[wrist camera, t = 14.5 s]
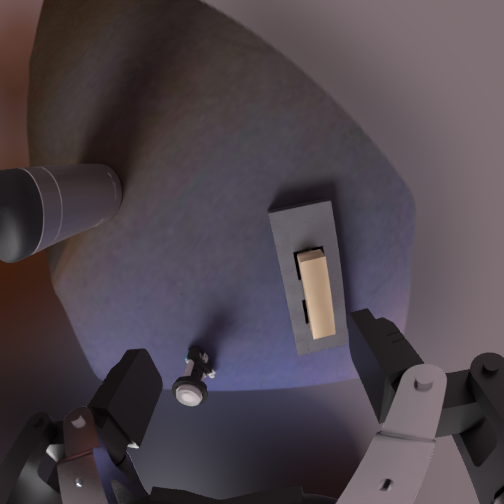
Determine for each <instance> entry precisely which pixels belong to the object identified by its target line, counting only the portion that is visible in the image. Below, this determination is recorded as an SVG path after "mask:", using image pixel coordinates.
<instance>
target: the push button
mask: <svg viewBox="0 0 504 504" xmlns="http://www.w3.org/2000/svg"><path fill="white" fill-rule="evenodd" d="M205 356H206V357H207V358H206V357H205ZM185 361H186V362H187V366H186V369H185V372H184V375H183V377H179V378H178V379H177V380H176V382H175V383H174V384H173V386H172V393H173V395H174V396H175V397H176V398H177V399H178V400H179V402H181V403H183V404H185V405H188V406H195V405H199V404H202V403H204V402H205V401H206V400H207V397H208V393H207V386H206V385H205V383H204V378H205V377H206V375H209V376H210V377H211V378H214V377H215V376H214V375H213V374H215V372H214V371H213V370H212V369H213V367H212V364H211V363H210V362H209V361H208V356H207V355H206V354H205V353H204V355H203V354H202V353H201V352H200V348H199V347H198V346H195V347H193V348H192V349H190V350H188V351H187V353H186V356H185ZM212 372H214V373H212ZM211 375H213V376H211ZM178 385H179V387H178ZM202 392H203V394H202Z"/></svg>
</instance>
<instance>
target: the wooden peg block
mask: <svg viewBox="0 0 504 504" xmlns="http://www.w3.org/2000/svg"><path fill="white" fill-rule="evenodd" d="M297 258H298V263H299V268H300V273H301V279H302V284H303V289H304V295H305V301H306V306H307V312H308V318H309V324H310V329H311V332H312V335H313V339H318V338H322V337H326V336H330V335H334V334H336V332H335V323H334V314H333V306H332V298H331V290H330V283H329V276H328V269H327V263H326V256H325V255H324V254H323V252H322V251H321V250H320V249H319V250H314V251H313V250H312V249H308V250H304V251H300V252H298V254H297Z"/></svg>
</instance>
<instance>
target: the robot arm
mask: <svg viewBox="0 0 504 504" xmlns="http://www.w3.org/2000/svg"><path fill="white" fill-rule="evenodd" d="M121 200H122V187H121V183H120V180H119V177H118V176H117V174H116V173H115V171H114V170H113V169H112V168H110V167H109V166H107V165H104V164H67V165H49V166H36V167H25V168H15V169H6V170H0V259H1V260H2V261H5V262H8V263H13V262H17V261H20V260H22V259H24V258H25V257H28V256H30V255H32V254H34V253H36V252H38V251H40V250H42V249H44V248H46V247H48V246H51V245H53V244H55V243H57V242H59V241H62V240H64V239H66V238H68V237H71V236H73V235H75V234H78V233H80V232H82V231H85V230H87V229H90V228H92V227H95V226H97V225H100V224H102V223H105V222H107V221H109V220H110V219H112V218H113V217H114V215H115V214H116V213H117V211H118V209H119V207H120V204H121ZM348 332H349V348H350V354H351V358H352V361H353V363H354V365H355V368H356V370H357V372H358V374H359V377H360V379H361V381H362V384H363V386H364V388H365V391H366V393H367V395H368V398H369V400H370V402H371V405H372V407H373V410H374V412H375V415H376V417H377V420H378V422H379V424H380V423H383V422H384V425H383V427H382V429H381V431H380V432H377V434H376V435H375V437H374V439H373V440H372V442H371V444H370V446H369V448H368V450H367V452H366V454H365V456H364V458H363V460H362V462H361V463H360V465H359V467H358V469H357V471H356V472H355V474H354V476H353V477H352V479H351V481H350V482H349V484H348V486H347V487H346V489H345V490H344V492H343V493H342V495H341V497H340V498H339V499H338V500H337V499H334V498H330V497H326V496H321V495H314V494H303V491H302V488H301V486H298V487H292V488H284V489H275V490H265V491H258V492H254V493H251V494H247V495H243V496H238V497H233V498H229V499H223V500H218V499H213V498H209V497H205V496H202V495H198V494H195V493H191V492H188V491H185V490H177V489H168V488H160V487H153V488H152V491H151V494H150V495H149V494H148V492H147V491H146V490H145V488H144V486H143V485H142V482H141V480H140V478H139V476H138V474H137V471H136V469H135V467H134V464H133V462H132V460H131V458H130V455H129V454H128V453H127V452H126V450H127V447H133V448H140V446H141V443H142V440H143V438H144V435H145V432H146V430H147V427H148V424H149V422H150V419H151V416H152V414H153V412H154V409H155V406H156V404H157V401H158V399H159V396H160V394H161V391H162V387H163V384H162V378H161V376H160V374H159V372H158V370H157V368H156V366H155V364H154V363H153V361H152V359H151V357H150V355H149V353H148V351H147V350H146V349H130V350H127V351H126V352H125V354H124V356H123V357H122V359H121V360H120V362H119V363H117V364H116V365H115V366H114V367H113V368H112V369H111V370H110V372H109V373H108V375H107V376H106V379H104V381H103V383H102V385H101V386H100V387H99V389H98V390H97V392H96V393H95V395H94V397H93V398H92V400H91V401H90V403H89V405H88V406H87V407H78V408H75V409H73V410H72V411H70V412H69V413H68V414H67V416H66V417H65V419H64V420H63V421H55V422H54V421H53V420H52V418H51V417H50V416H49V415H48V414H47V413H45V412H39V413H36V414H34V415H33V416H32V417H31V418H30V419H29V420H28V421H27V423H26V425H25V426H24V428H23V429H22V431H21V432H20V434H19V436H18V437H17V439H16V441H15V442H14V444H13V445H12V447H11V449H10V450H9V452H8V454H7V455H6V457H5V459H4V461H3V462H2V464H1V466H0V504H413V503H414V501H415V498H416V496H417V494H418V491H419V489H420V487H421V484H422V482H423V479H424V476H425V474H426V471H427V468H428V466H429V462H430V460H431V457H432V453H433V450H434V446H435V440H434V438H436V437H442V436H447V435H452V436H453V439H454V441H455V443H456V445H457V447H458V450H459V452H460V454H461V456H462V459H463V461H464V463H465V466H466V468H467V471H468V473H469V475H470V478H471V481H472V483H473V486H474V489H475V491H476V494H477V497H478V500H479V502H480V504H504V358H503V357H502V356H501V355H499V354H496V353H483V354H480V355H479V356H477V357H476V358H474V360H473V361H472V363H471V366H470V369H468V370H463V371H458V372H453V373H444V371H443V370H442V369H441V368H439V367H437V366H435V365H432V364H424V362H423V361H422V359H421V358H420V357H419V355H418V354H417V353H416V351H415V350H414V349H413V347H412V346H411V345H410V343H409V342H408V341H407V340H406V339H405V337H404V335H403V334H402V333H400V330H399V329H398V328H397V327H396V325H395V324H394V323H393V322H391V321H389V320H387V319H385V318H383V317H382V318H379V319H375V318H374V316H373V315H372V313H371V312H370V311H369V309H367V308H366V309H362V310H359V311H355V312H351V313H348ZM46 452H47V453H48V454H49V455H50V456H51V457H52V458H53V459H54V460H55V461H56V464H55V466H54V468H53V470H52V473H51V475H50V477H49V479H48V481H47V484H46V483H45V482H43V481H42V480H41V479H40V478H39V476H38V473H37V469H38V466H39V464H40V462H41V460H42V458H43V456H44V455H45V453H46Z"/></svg>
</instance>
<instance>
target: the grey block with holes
mask: <svg viewBox="0 0 504 504" xmlns="http://www.w3.org/2000/svg"><path fill="white" fill-rule="evenodd" d="M268 215H269V219H270V224H271V228H272V233H273V237H274V242H275V246H276V251H277V255H278V260H279V265H280V269H281V274H282V279H283V284H284V289H285V293H286V298H287V303H288V308H289V313H290V318H291V323H292V328H293V333H294V338H295V344H296V349H297V354H298V356H299V355H303V354H308V353H312V352H317V351H321V350H325V349H329V348H333V347H337V346H341V345H345V344H348V338H347V323H346V311H345V300H344V290H343V281H342V272H341V264H340V256H339V249H338V242H337V235H336V229H335V223H334V217H333V211H332V205H331V201H330V200H328V199H326V198H324V199H319V200H314V201H309V202H304V203H300V204H295V205H290V206H285V207H281V208H276V209H272V210H268ZM314 247H319V248H320V250H321V251H322V252H323V254H324V255H325V256H326V263H327V269H328V276H329V283H330V290H331V298H332V306H333V314H334V323H335V332H336V334H334V335H330V336H326V337H322V338H318V339H313V335H312V332H311V329H310V324H309V318H308V313H305V314H304V309H303V304H302V300H305V295H304V289H303V284H302V279H301V273H300V272H297V271H296V266H295V260H294V255H293V252H296V251H301V250H305V249H310V248H314Z"/></svg>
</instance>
